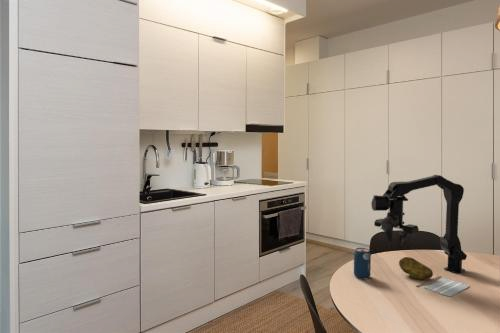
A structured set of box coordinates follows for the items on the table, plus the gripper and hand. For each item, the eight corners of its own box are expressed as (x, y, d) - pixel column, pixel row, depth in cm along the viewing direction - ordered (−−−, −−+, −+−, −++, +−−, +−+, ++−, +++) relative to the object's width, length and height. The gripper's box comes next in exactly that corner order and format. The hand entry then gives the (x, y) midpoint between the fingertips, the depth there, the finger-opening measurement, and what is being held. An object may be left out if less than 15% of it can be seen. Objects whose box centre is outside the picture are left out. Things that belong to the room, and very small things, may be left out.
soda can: (372, 279, 155) (373, 252, 154) (356, 279, 156) (356, 252, 155) (367, 273, 162) (368, 247, 161) (351, 273, 162) (352, 247, 162)
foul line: (438, 276, 159) (438, 275, 159) (441, 277, 158) (441, 276, 158) (415, 286, 148) (415, 285, 148) (418, 287, 148) (418, 286, 148)
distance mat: (444, 279, 156) (444, 278, 156) (469, 286, 148) (469, 286, 148) (424, 288, 146) (424, 287, 146) (450, 296, 138) (450, 296, 138)
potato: (425, 283, 150) (425, 264, 150) (396, 275, 160) (396, 257, 160) (434, 278, 156) (435, 260, 155) (405, 271, 166) (405, 253, 165)
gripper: (367, 209, 167) (366, 242, 168) (405, 216, 152) (404, 253, 153) (382, 206, 173) (381, 238, 174) (419, 213, 158) (418, 248, 159)
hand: (395, 244), depth 165 cm, fingers open, 5 cm apart
